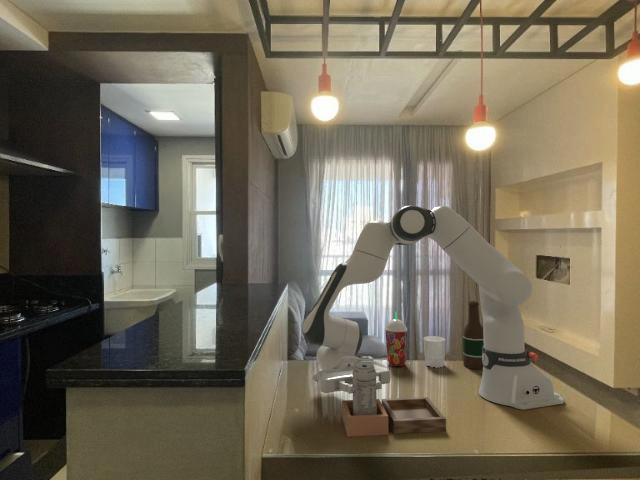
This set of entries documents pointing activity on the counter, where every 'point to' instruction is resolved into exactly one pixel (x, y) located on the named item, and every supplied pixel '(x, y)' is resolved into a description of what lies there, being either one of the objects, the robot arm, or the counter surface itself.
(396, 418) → the tray
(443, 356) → the white cup
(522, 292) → the robot arm
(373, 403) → the energy drink can
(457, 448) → the counter surface
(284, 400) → the counter surface
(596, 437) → the counter surface
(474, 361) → the beer bottle
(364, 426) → the holder
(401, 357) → the smoothie
